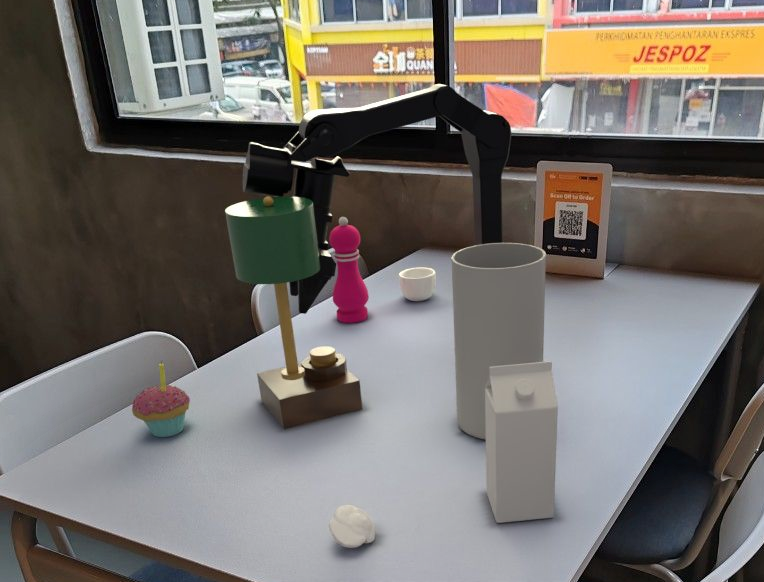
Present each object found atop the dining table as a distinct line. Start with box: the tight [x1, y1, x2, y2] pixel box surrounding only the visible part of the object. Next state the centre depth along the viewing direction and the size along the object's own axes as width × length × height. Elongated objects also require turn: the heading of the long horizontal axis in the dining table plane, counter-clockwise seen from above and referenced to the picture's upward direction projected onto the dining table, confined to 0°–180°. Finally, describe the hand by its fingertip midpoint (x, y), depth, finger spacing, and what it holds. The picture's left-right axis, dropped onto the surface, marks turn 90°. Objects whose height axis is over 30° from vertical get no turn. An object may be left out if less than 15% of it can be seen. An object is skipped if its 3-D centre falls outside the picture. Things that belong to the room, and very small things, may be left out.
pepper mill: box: [328, 216, 370, 324], centre depth 162 cm, size 7×7×20 cm
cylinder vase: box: [451, 242, 547, 441], centre depth 116 cm, size 12×12×25 cm
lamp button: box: [309, 345, 336, 367], centre depth 130 cm, size 4×4×2 cm
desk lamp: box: [224, 196, 320, 380], centre depth 119 cm, size 12×12×26 cm
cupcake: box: [131, 358, 191, 438], centre depth 125 cm, size 9×8×12 cm
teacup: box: [398, 267, 437, 302], centre depth 175 cm, size 10×8×5 cm
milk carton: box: [485, 360, 559, 524], centre depth 98 cm, size 7×7×19 cm
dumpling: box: [328, 504, 377, 549], centre depth 98 cm, size 7×5×4 cm
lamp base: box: [256, 352, 363, 430], centre depth 131 cm, size 13×12×7 cm
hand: (298, 304), depth 130 cm, fingers open, 9 cm apart
